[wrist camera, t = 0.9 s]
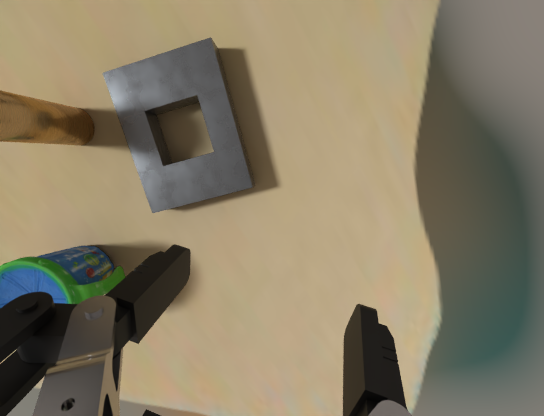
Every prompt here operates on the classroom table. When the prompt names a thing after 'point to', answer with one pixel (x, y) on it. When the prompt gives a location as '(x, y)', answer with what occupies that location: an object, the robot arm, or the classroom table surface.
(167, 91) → the plate
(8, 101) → the brass flanged peg
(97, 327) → the robot arm
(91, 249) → the snack cup
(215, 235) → the classroom table surface
